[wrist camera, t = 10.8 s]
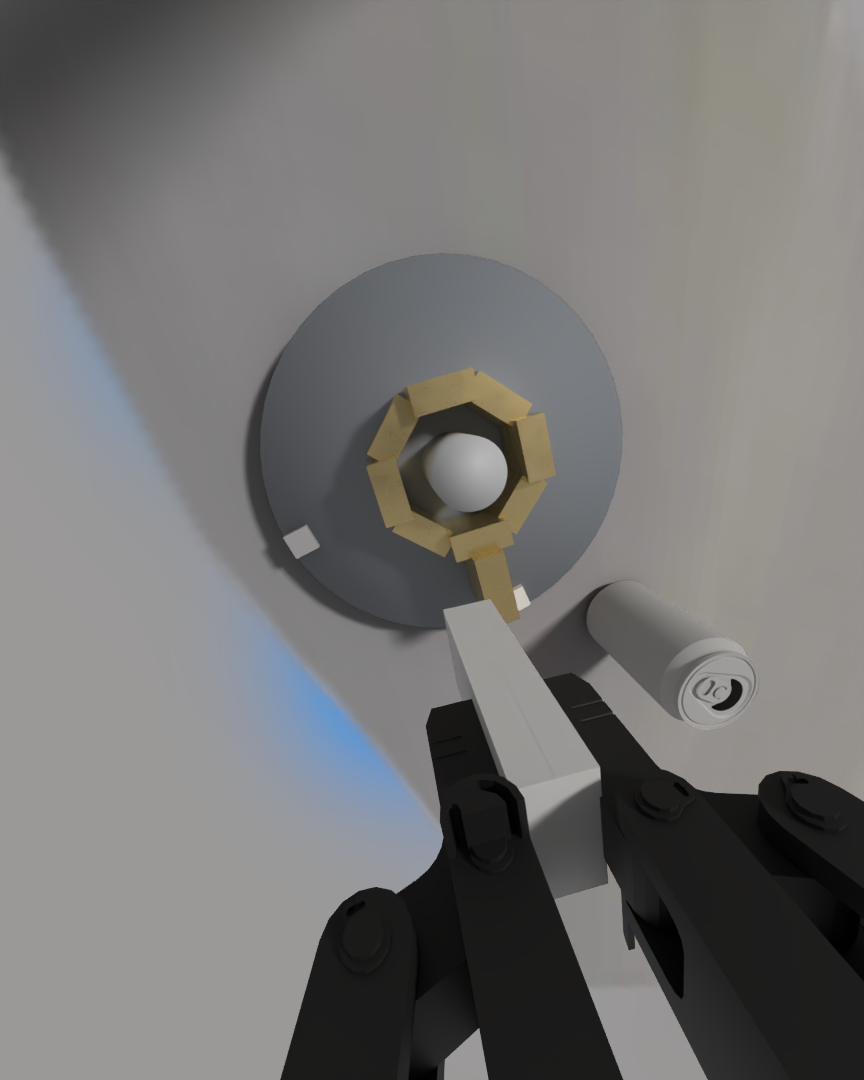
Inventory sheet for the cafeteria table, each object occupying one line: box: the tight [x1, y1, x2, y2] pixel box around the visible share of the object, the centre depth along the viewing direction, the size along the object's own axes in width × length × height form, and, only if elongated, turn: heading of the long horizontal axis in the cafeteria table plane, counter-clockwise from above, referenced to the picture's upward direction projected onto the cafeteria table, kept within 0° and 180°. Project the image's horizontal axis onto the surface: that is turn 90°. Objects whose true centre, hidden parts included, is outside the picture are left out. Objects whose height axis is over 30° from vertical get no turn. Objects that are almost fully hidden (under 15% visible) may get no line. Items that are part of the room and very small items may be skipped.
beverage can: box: [586, 581, 760, 730], centre depth 32 cm, size 6×6×12 cm
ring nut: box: [366, 367, 556, 623], centre depth 28 cm, size 16×11×5 cm
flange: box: [260, 253, 622, 628], centre depth 28 cm, size 26×26×8 cm
